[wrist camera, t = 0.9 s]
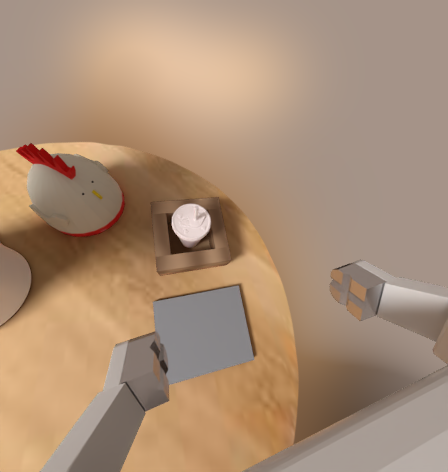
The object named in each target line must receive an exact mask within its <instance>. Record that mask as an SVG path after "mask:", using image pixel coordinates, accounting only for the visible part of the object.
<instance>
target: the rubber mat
mask: <svg viewBox="0 0 448 472" xmlns="http://www.w3.org/2000/svg"><path fill="white" fill-rule="evenodd" d="M153 307H154V319H155V331H157V332H158V334H159V336H160V343H161V344H164V347H165V349H166V352H167V358H168V371H167V373H166V377H167V379H168V381H169V385H170V384H174V383H177V382H181V381H184V380H187V379H191V378H194V377H197V376H201V375H204V374H208V373H211V372H214V371H218V370H221V369H225V368H228V367H231V366H235V365H238V364H241V363H245V362H248V361H252V360H254V356H253V351H252V347H251V342H250V337H249V332H248V327H247V323H246V318H245V313H244V308H243V304H242V299H241V294H240V289H239V285H238V286H233V287H228V288H223V289H218V290H212V291H207V292H202V293H197V294H191V295H186V296H181V297H176V298H170V299H165V300H160V301H155V302H153Z"/></svg>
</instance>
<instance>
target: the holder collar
mask: <svg viewBox="0 0 448 472" xmlns="http://www.w3.org/2000/svg"><path fill="white" fill-rule="evenodd" d="M185 204H197V205H199V206H201V207H203V208H204V209H205V210H206V211H207V212H208V213H209V215H210V218H211V226H210V230H209V232H208V236H209V242H210V247H211V249H210V250H202V251H195V252H188V253H181V254H173V255H171V247H170V238H169V230H168V224H169V223H172V216H173V214H174V212H175V211H176V210H177V209H178V208H179V207H180V206H182V205H185ZM151 212H152V223H153V234H154V245H155V256H156V267H157V272H158V274H159V275H160V276H162V275H168V274H174V273H180V272H187V271H193V270H199V269H205V268H211V267H217V266H224V265H227V264H228V263H229V262H230V261H231V255H230V250H229V246H228V241H227V236H226V231H225V226H224V221H223V217H222V212H221V207H220V202H219V197H215V198H201V199H187V200H173V201H160V202H151Z"/></svg>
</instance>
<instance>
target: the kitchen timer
mask: <svg viewBox="0 0 448 472" xmlns="http://www.w3.org/2000/svg"><path fill="white" fill-rule="evenodd" d="M16 152H18V153H19V154H20V155H21V156H23V157H24V158H25V159H27V160H28V161H30V162H31V163H32V164H33V165H32V167H31V169H30V171H29V173H28V179H27V190H28V193H29V196H30V199H31V201H32V203H33V204H32V205H29V207H30V208H31V209H32V210H34V211H35V212H36V213H37V214H38V215H39V216H40V217H41V218H42V219H43V220H45V221H46V222H47V223H48V224H49V225H50V226H52V227H53V228H55V229H57V230H59V231H60V232H62V233H64V234H67V235H71V236H75V237H79V236H91V235H95V234H99V233H101V232H103V231H105V230H107V229H109V228H110V227H111V226H112V225H113V224H115V223H116V222H117V221H118V219H119V218H120V216H121V214H122V213H123V209H124V205H125V202H124V195H123V193H122V191H121V189H120V187H119V185H118V183H117V182H116V181H115V180H114V179H113V178H112V177H111V176H110V175H109V174H108V170H107V169H106V168H105V167H104V166H103V165H102V164H101V163H100V162H98V161H92V160H90V159H87V158H85V157H83V156H81V155H78V154H74V155H71V154H59V153H58V154H49V153H48V152H47V151H45V150H44V149H43V148H42V149H41V150H38V149H37V148H36V147H35V146H34V145H33V144H32V143H31V144H29V145H28V146H27V145H24V146H23V147H20V148H19V149H18V150H17V151H16Z"/></svg>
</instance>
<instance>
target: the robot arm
mask: <svg viewBox="0 0 448 472" xmlns="http://www.w3.org/2000/svg"><path fill="white" fill-rule="evenodd" d="M331 278H332V279H333V280H332V282H331V283H330V292H331V294H332V296H333V298H334V299H335V300H336V301H337V302H338V303H340V304H343V305H346V307H347V310H348V311H349V312H350V313H351V314H352V315H353V316H355V317H356V318H357V319H358V320H359V321H362V320H365V319H367V318H370V317H373V316H376V315H377V317H380V318H382V319H384V320H387V321H389V322H392V323H394V324H396V325H399V326H401V327H403V328H405V329H408V330H410V331H413V332H415V333H417V334H420V335H422V336H424V337H426V338H429V339H431V340H434V341H436V344H435V346H434V348H433V353H434V354H435V355H436V356H437V357H439V358H440V359H441V360H443V361H444V362H445V363H446V364H448V287H445V286H440V285H435V284H430V283H425V282H421V281H416V280H411V279H407V278H402V277H399V278H396V277H394V276H392V275H391V274H389V273H387V272H385V271H383V270H381V269H380V268H378V267H376V266H374V265H372V264H370V263H368V262H367V261H364V260H359V261H356V262H353V263H351V264H347V265H344V266H342V267H339V268H336V269H333V271H332V272H331ZM30 285H31V271H30V267H29V265H28V263H27V261H26V260H25V258H24V257H23V256H22V255H21V254H19V253H18V252H16V251H15V250H13V249H10V248H8V247H6V246H4V245H2V244H1V242H0V325H2V324H3V323H5V322H6V321H7V320H8V319H9V318H11V317H12V316H13V315H14V314H15V313H16V311H17V310H18V309H19V308H20V307H21V305H22V304H23V302H24V300H25V299H26V297H27V295H28V292H29V289H30ZM167 371H168V358H167V352H166V349H165V347H164V344H161V343H160V336H159V334H158V332H157V331H155V332H152V333H149V334H146V335H143V336H140V337H136V338H133V339H130V340H128V341H125V342H122V343H119V344H116V345H115V347H114V349H113V352H112V356H111V360H110V364H109V368H108V372H107V376H106V380H105V384H104V388H103V391H102V392H99V393H98V394H97V395H96V396H95V398H94V399H93V400H92V402H91V403H90V404H89V406H88V407H87V409H86V410H85V411H84V413H83V414H82V415H81V417H80V418H79V419H78V421H77V422H76V423H75V425H74V426H73V427H72V429H71V430H70V432H69V433H68V434H67V436H66V437H65V438H64V440H63V441H62V442H61V444H60V445H59V446H58V448H57V449H56V450H55V452H54V453H53V454H52V456H51V457H50V459H49V460H48V461H47V463H46V464H45V465H44V467H43V468H42V469H41V471H40V472H120V471H121V468H122V466H123V464H124V462H125V459H126V457H127V455H128V452H129V450H130V448H131V445H132V443H133V441H134V439H135V436H136V434H137V432H138V429H139V427H140V425H141V423H142V420H143V418H144V416H145V411H148V410H150V409H152V408H154V407H157V406H159V405H161V404H163V403H165V402H168V401H169V381H168V379H167V377H166V373H167ZM242 472H448V365H447V366H445V367H443V368H442V369H440V370H437V371H436V372H434V373H432V374H430V375H428V376H426V377H424V378H422V379H420V380H418V381H416V382H414V383H412V384H411V385H408V386H407V387H405V388H403V389H401V390H399V391H397V392H395V393H393V394H391V395H389V396H387V397H385V398H383V399H381V400H379V401H378V402H376V403H374V404H372V405H370V406H368V407H366V408H364V409H362V410H360V411H358V412H356V413H354V414H352V415H350V416H348V417H347V418H345V419H343V420H341V421H339V422H337V423H335V424H333V425H332V426H329V427H327V428H325V429H324V430H322V431H320V432H318V433H316V434H314V435H312V436H310V437H308V438H306V439H304V440H302V441H300V442H298V443H296V444H294V445H292V446H290V447H289V448H287V449H285V450H283V451H281V452H279V453H277V454H275V455H273V456H271V457H269V458H267V459H265V460H263V461H261V462H260V463H258V464H256V465H254V466H252V467H250V468H248V469H246V470H244V471H242Z"/></svg>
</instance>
